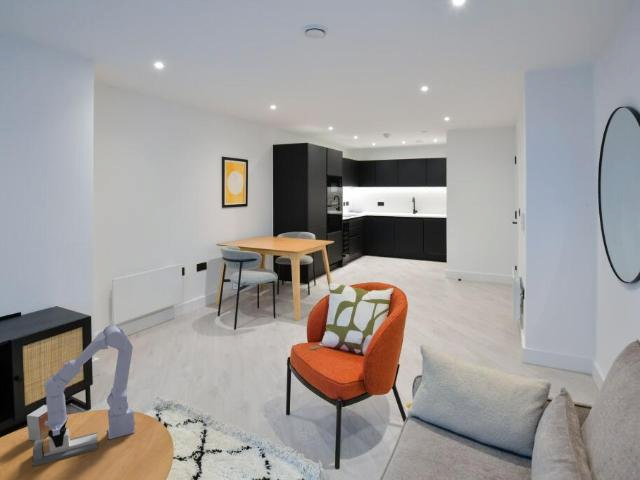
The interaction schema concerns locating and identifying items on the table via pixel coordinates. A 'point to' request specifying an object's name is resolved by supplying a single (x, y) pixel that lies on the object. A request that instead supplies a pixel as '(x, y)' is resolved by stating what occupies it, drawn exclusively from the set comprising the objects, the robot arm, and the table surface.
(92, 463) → the table surface
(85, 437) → the rail board
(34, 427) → the small box
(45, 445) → the orange block
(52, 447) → the block
